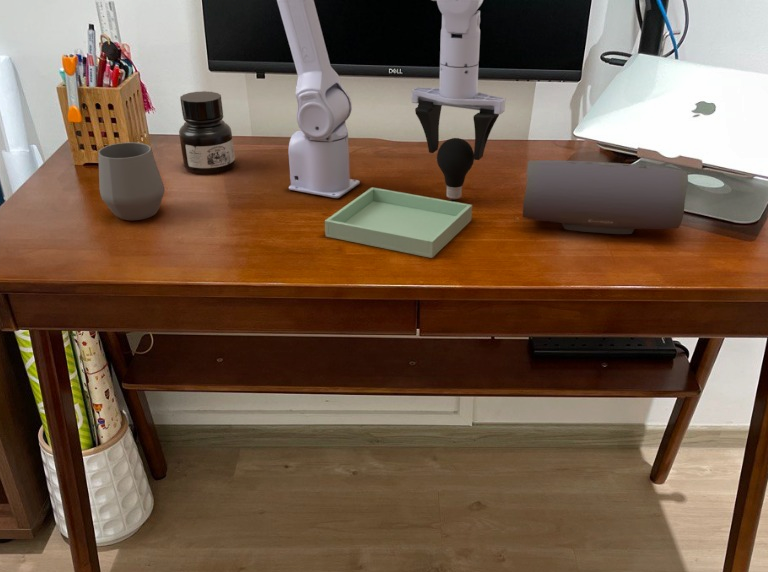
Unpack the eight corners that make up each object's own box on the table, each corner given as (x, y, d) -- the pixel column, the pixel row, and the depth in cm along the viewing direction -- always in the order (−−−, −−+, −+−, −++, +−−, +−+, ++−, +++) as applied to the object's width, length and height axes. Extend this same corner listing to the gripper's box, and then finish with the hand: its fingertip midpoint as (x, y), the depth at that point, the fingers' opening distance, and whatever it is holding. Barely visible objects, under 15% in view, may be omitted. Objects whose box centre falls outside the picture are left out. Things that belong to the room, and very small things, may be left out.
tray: (325, 236, 122) (324, 220, 121) (372, 202, 133) (371, 187, 132) (432, 258, 116) (432, 241, 115) (471, 220, 128) (472, 204, 126)
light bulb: (435, 193, 137) (436, 132, 131) (470, 194, 137) (473, 133, 131) (436, 207, 132) (438, 144, 126) (472, 207, 132) (476, 144, 126)
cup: (129, 199, 133) (117, 137, 127) (179, 207, 131) (169, 144, 125) (92, 221, 126) (77, 156, 120) (144, 230, 123) (132, 163, 118)
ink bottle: (190, 178, 141) (179, 106, 134) (175, 163, 148) (164, 93, 141) (244, 169, 145) (237, 99, 138) (228, 155, 152) (220, 87, 145)
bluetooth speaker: (672, 222, 128) (685, 158, 122) (677, 247, 120) (691, 180, 114) (524, 211, 131) (530, 148, 125) (520, 234, 123) (526, 168, 117)
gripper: (514, 62, 123) (507, 153, 130) (425, 52, 128) (424, 141, 135) (498, 72, 117) (492, 167, 125) (406, 62, 122) (405, 153, 130)
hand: (455, 154), depth 130 cm, fingers open, 7 cm apart
